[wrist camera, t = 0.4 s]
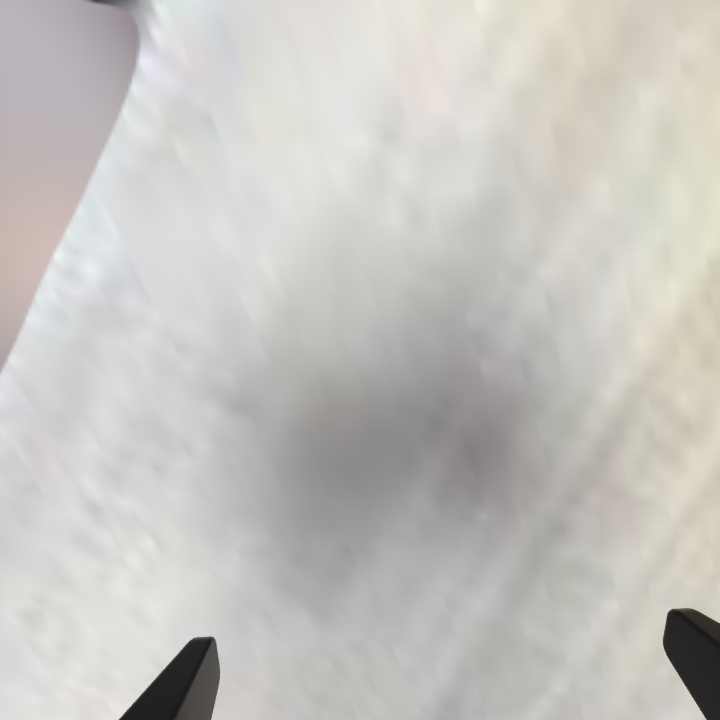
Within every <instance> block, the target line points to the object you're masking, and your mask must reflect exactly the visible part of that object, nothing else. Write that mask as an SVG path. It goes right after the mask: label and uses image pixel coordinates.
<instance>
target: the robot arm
mask: <svg viewBox="0 0 720 720" xmlns="http://www.w3.org/2000/svg"><path fill="white" fill-rule="evenodd" d="M663 646H664V650H665V652H666V655H667V657H668V658H669V660H670V662H671V663H672V665H673V666H674V668H675V670H676V671H677V673H678V675H679V676H680V678H681V679H682V681H683V683H684V684H685V686H686V687H687V689H688V691H689V692H690V694H691V695H692V697H693V699H694V700H695V702H696V704H697V705H698V707H699V708H700V710H701V712H702V713H703V715H704V716H705V718H706V720H720V623H718V622H716V621H714V620H713V619H711V618H709V617H707V616H706V615H704V614H702V613H700V612H698V611H696V610H694V609H690V608H681V609H671V610H670V611H669V612H668V614H667V619H666V625H665V631H664V636H663ZM219 680H220V666H219V659H218V652H217V645H216V640H215V639H214V637H197V638H193V639H192V640H190V641H189V642H188V643H187V644H186V646H185V647H184V648H183V649H182V650H181V651H180V652H179V653H178V654H177V656H176V657H175V658H174V659H173V660H172V661H171V662H170V663H169V664H168V666H167V667H166V668H165V669H164V670H163V671H162V672H161V673H160V674H159V676H158V677H157V678H156V679H155V680H154V681H153V682H152V683H151V684H150V686H149V687H148V688H147V689H146V690H145V691H144V692H143V693H142V694H141V696H140V697H139V698H138V699H137V700H136V701H135V702H134V703H133V704H132V706H131V707H130V708H129V709H128V710H127V711H126V712H125V713H124V715H123V716H122V717H121V718H120V719H119V720H211V718H212V713H213V709H214V704H215V700H216V695H217V691H218V686H219Z"/></svg>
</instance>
